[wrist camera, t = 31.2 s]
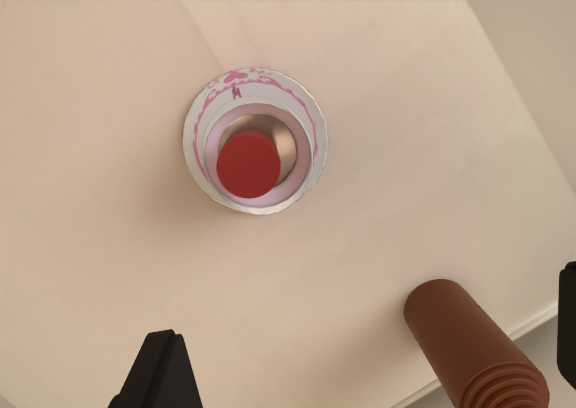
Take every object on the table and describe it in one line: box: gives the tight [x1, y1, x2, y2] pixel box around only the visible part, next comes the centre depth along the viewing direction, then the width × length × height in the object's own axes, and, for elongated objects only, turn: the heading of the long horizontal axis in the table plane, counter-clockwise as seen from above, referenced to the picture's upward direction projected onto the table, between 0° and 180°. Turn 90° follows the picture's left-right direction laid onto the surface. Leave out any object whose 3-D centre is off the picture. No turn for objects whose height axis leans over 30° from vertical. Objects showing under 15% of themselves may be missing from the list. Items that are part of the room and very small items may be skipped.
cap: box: [216, 129, 281, 199], centre depth 28 cm, size 4×4×3 cm
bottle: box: [404, 279, 549, 408], centre depth 33 cm, size 6×6×17 cm
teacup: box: [182, 68, 329, 215], centre depth 32 cm, size 12×12×6 cm
